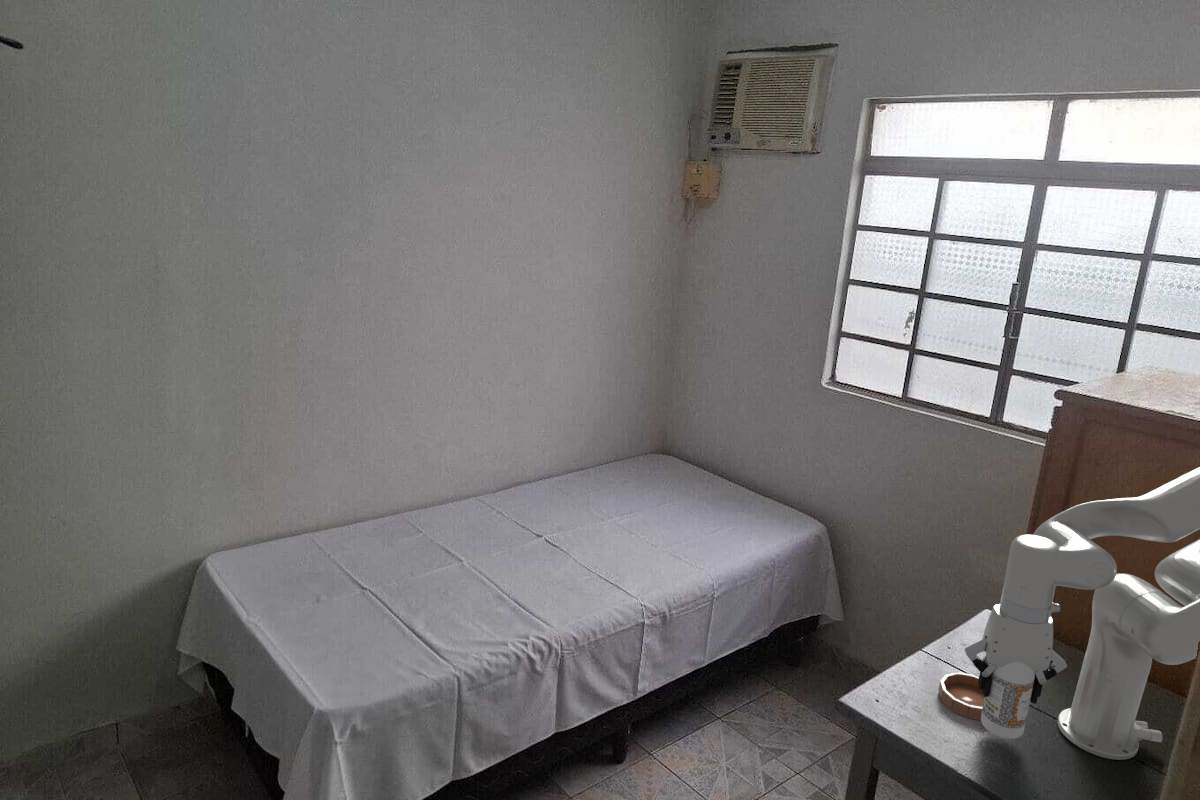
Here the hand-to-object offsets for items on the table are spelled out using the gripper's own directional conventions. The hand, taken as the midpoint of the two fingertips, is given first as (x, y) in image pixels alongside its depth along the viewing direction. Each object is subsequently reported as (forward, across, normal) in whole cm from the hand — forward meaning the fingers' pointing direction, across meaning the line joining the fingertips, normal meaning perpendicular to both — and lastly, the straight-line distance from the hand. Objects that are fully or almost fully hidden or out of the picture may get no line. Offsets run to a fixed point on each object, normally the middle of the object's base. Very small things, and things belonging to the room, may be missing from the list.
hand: (1007, 694), depth 140 cm
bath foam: (+7, 0, 0) cm, 7 cm away
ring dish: (+9, +3, -10) cm, 14 cm away
